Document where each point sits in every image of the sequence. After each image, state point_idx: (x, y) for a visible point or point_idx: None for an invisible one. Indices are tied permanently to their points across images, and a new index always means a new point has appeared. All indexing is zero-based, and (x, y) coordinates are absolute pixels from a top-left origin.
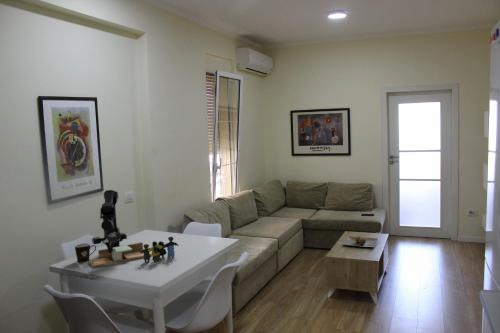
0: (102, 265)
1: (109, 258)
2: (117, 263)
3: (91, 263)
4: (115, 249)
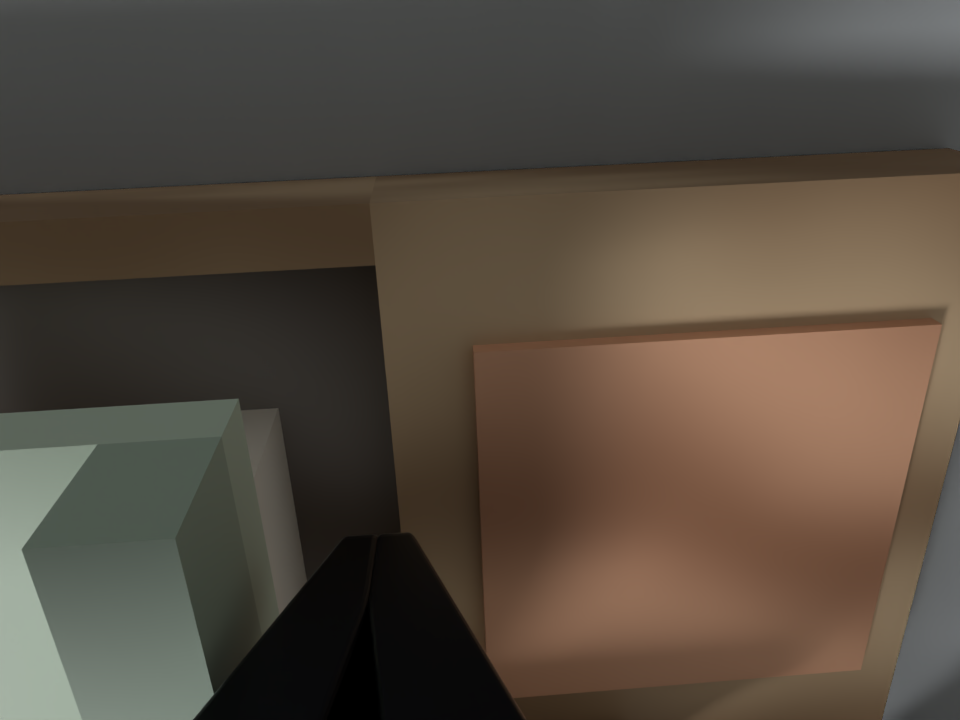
0: (724, 170)
1: None
2: (218, 191)
3: (938, 474)
4: (44, 543)
